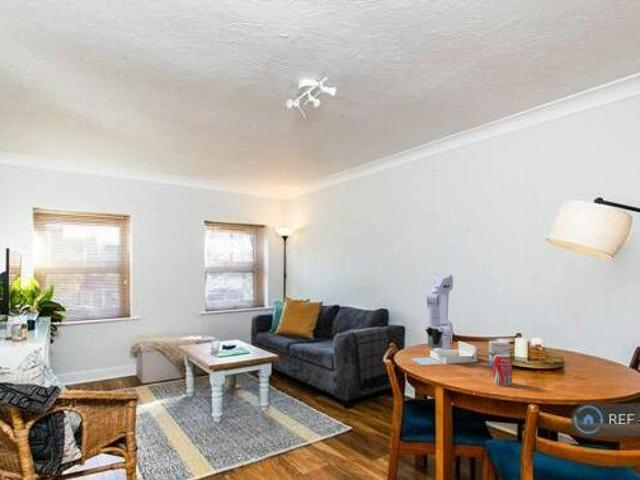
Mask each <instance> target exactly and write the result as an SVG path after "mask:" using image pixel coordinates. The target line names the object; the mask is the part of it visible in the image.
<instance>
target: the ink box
mask: <svg viewBox="0 0 640 480" xmlns="http://www.w3.org/2000/svg"><path fill="white" fill-rule="evenodd" d="M495 354H507V355H510V354H511V352H510V343H509V342H507V341H504V340H499V341H498V340H489V341H488V364H489V365H490V366H491V367H493V359H494V357H495Z"/></svg>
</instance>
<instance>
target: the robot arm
mask: <svg viewBox="0 0 640 480" xmlns="http://www.w3.org/2000/svg"><path fill="white" fill-rule="evenodd" d="M433 284H434V286H433V287H432V289H431V290H430V293H428V294H427V295H426V306H427V307H426V308H427V309H428V310H427V312H428V319H427V320H428V323H425V332H426V335H427V336H428V335H433V337H434V344H435V345H439V342H440V338H441V336H442V338H443V340H442V347H443V348H433V350H431V351H439V350H451V338H452V337H453V334H454V329H453V326H454V325H453V323H452V322H451V321H450V320H449V317H448V316H449V300H450V298H449V297H450V296H449V295H450V292H451V291H452V290H453V288H454V278H453V275H452V274H434V276H433Z"/></svg>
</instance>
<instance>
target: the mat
mask: <svg viewBox="0 0 640 480" xmlns="http://www.w3.org/2000/svg"><path fill="white" fill-rule="evenodd" d="M410 360H411V361H413V362H414V363H417V364H418V365H421V366H422V367H423V366H425V365H438V364H439V365H440V364H441V365H442V364H443V362H440V361H438V360H436V359H434V358H432V357H430V356H429V357H428V356H426V357H413V358H412V357H411V358H410Z"/></svg>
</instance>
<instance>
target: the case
mask: <svg viewBox="0 0 640 480" xmlns="http://www.w3.org/2000/svg"><path fill="white" fill-rule="evenodd" d="M457 346H458V347H457V348H456V349H450V350H439V351H432V350H430V351H429V357H430V358H432V359H434V360H436V361H439V362H441V363H442V364H444V365H449V364H451V365H452V364H462V363H475V362H476V363H477V362H478V351H480V348H479V347H477V345H473V344H469V343H467V342H464V341H461V340H458V341H457Z"/></svg>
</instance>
